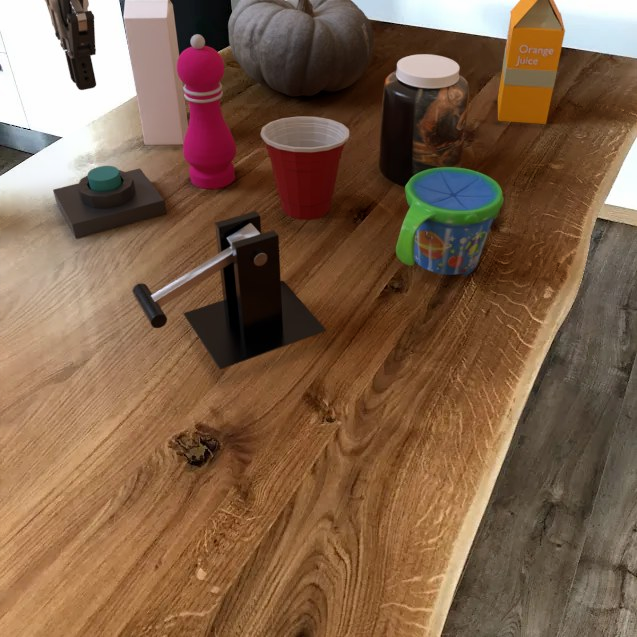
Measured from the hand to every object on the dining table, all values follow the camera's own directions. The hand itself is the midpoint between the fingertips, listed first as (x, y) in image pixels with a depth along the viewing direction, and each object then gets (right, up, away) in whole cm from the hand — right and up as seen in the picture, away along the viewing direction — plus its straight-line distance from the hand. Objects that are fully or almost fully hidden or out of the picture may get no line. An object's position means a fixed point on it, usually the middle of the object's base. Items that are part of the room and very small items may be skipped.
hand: (84, 84), depth 86 cm
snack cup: (+43, -21, +1) cm, 48 cm away
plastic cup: (+26, -14, +10) cm, 31 cm away
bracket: (+21, -29, -9) cm, 37 cm away
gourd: (+25, +15, +45) cm, 53 cm away
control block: (0, -13, +11) cm, 17 cm away
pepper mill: (+13, -8, +17) cm, 23 cm away
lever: (+17, -24, -16) cm, 33 cm away
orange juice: (+61, +6, +34) cm, 70 cm away
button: (0, -10, +9) cm, 13 cm away
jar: (+42, -6, +19) cm, 47 cm away
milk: (+4, 0, +28) cm, 28 cm away
